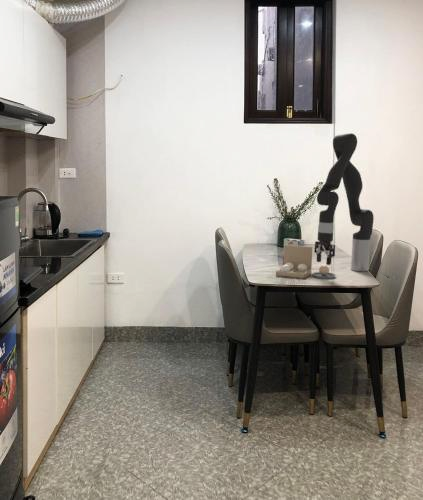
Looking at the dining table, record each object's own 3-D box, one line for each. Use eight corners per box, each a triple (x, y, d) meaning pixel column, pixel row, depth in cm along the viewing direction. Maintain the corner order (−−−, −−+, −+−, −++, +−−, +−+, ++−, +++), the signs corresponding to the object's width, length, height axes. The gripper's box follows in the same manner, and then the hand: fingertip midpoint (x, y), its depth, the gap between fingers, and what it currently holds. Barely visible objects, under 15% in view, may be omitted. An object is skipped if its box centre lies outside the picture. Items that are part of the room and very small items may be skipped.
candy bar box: (303, 269, 262) (305, 240, 259) (297, 270, 259) (299, 240, 256) (288, 266, 270) (289, 237, 268) (282, 267, 267) (283, 238, 265)
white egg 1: (282, 272, 249) (282, 263, 248) (291, 273, 247) (291, 264, 246) (279, 274, 245) (279, 265, 244) (289, 275, 243) (289, 265, 242)
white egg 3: (298, 271, 253) (298, 262, 252) (307, 272, 251) (308, 263, 250) (296, 273, 248) (296, 263, 247) (305, 274, 246) (306, 264, 245)
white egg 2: (285, 270, 255) (285, 261, 255) (294, 271, 253) (295, 262, 253) (283, 272, 251) (283, 262, 250) (292, 273, 249) (292, 263, 248)
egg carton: (283, 270, 258) (284, 245, 256) (311, 273, 252) (312, 247, 250) (276, 276, 244) (276, 248, 242) (304, 278, 238) (306, 251, 236)
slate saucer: (315, 273, 251) (315, 271, 251) (336, 275, 247) (336, 273, 246) (310, 277, 241) (310, 275, 241) (333, 279, 237) (333, 277, 236)
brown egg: (319, 273, 247) (320, 264, 246) (329, 274, 245) (330, 265, 244) (318, 275, 242) (318, 265, 242) (328, 276, 240) (328, 266, 240)
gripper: (311, 230, 246) (309, 261, 248) (327, 233, 232) (325, 266, 235) (323, 229, 248) (321, 260, 251) (340, 232, 235) (338, 265, 237)
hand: (323, 263), depth 243 cm, fingers open, 8 cm apart
